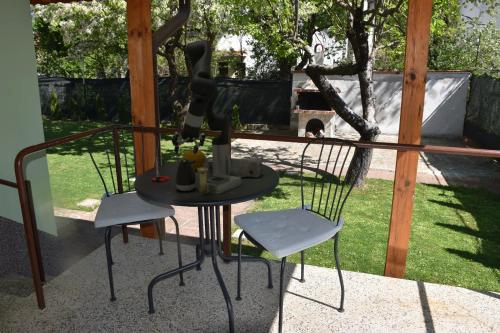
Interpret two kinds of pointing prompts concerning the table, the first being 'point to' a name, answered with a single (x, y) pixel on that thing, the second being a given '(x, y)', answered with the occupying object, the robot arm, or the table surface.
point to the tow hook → (157, 178)
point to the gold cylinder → (203, 180)
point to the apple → (195, 158)
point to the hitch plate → (222, 183)
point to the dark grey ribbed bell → (185, 175)
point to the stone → (250, 167)
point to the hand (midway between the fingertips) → (185, 152)
